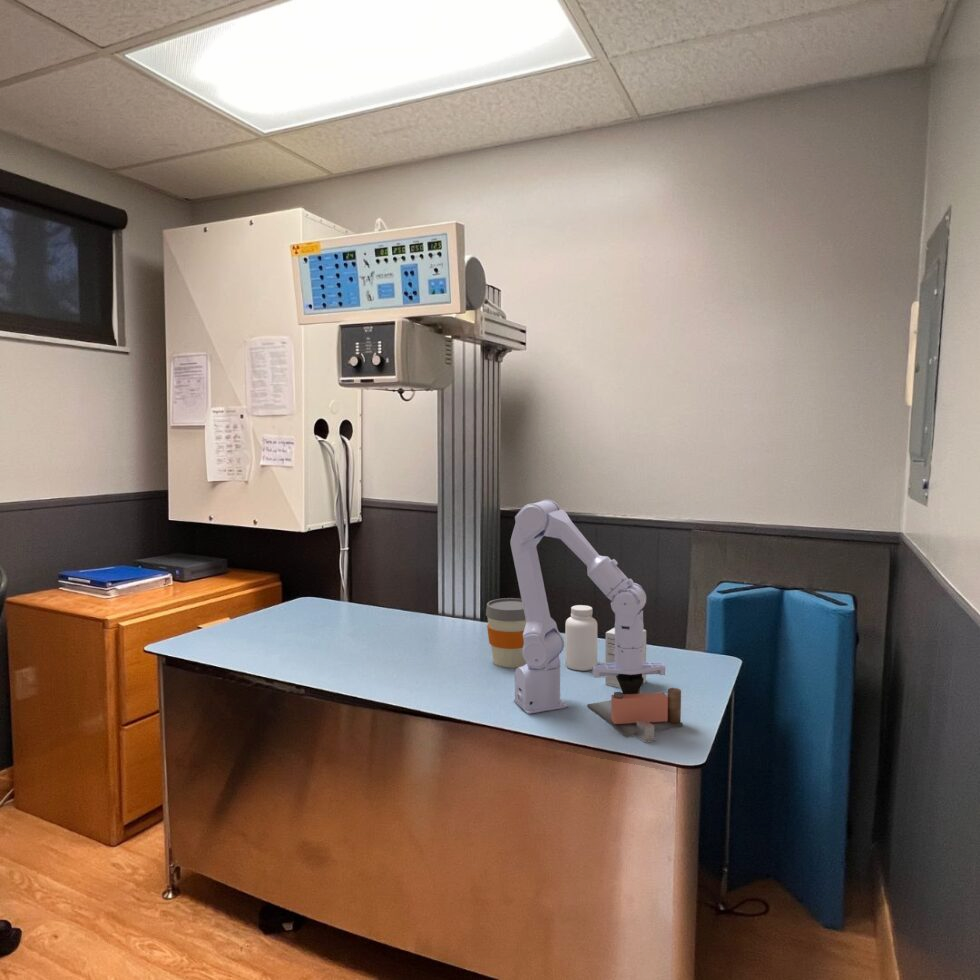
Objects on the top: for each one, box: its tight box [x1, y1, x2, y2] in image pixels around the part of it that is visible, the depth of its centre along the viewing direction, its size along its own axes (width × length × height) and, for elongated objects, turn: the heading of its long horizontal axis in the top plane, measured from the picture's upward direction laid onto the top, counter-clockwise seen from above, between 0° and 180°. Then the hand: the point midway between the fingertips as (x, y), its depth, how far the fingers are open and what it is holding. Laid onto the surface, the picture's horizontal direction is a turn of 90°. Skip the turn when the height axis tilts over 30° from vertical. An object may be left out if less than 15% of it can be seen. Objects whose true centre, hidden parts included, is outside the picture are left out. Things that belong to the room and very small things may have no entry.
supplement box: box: [604, 627, 647, 689], centre depth 161 cm, size 7×7×13 cm
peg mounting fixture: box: [586, 687, 684, 738], centre depth 143 cm, size 13×16×7 cm
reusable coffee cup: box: [485, 597, 527, 668], centre depth 177 cm, size 13×13×15 cm
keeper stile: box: [636, 720, 655, 744], centre depth 133 cm, size 2×3×3 cm, turn 21°
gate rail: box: [610, 691, 668, 724], centre depth 138 cm, size 2×11×6 cm, turn 96°
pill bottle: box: [564, 604, 598, 672], centre depth 173 cm, size 8×8×15 cm
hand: (628, 709), depth 141 cm, fingers closed, pressing on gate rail
